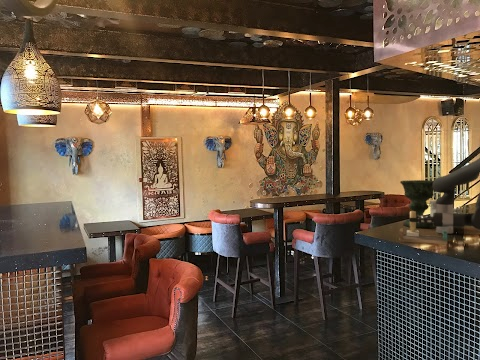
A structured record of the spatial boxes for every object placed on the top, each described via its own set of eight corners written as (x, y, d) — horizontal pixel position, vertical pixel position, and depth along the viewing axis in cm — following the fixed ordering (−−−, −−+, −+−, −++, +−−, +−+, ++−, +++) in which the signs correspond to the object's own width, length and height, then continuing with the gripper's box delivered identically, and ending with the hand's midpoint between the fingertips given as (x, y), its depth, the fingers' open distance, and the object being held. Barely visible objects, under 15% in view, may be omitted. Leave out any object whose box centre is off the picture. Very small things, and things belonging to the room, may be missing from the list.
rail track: (400, 238, 225) (400, 228, 225) (445, 240, 216) (445, 230, 216) (399, 241, 216) (399, 231, 216) (447, 244, 207) (447, 233, 206)
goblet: (424, 230, 248) (424, 182, 246) (393, 225, 267) (393, 181, 265) (444, 226, 259) (444, 180, 258) (413, 222, 279) (413, 179, 277)
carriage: (406, 233, 222) (406, 210, 222) (418, 234, 220) (418, 210, 219) (406, 235, 216) (406, 212, 215) (418, 236, 213) (418, 212, 213)
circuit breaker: (454, 222, 273) (455, 201, 273) (434, 223, 274) (434, 201, 273) (449, 221, 281) (449, 200, 280) (429, 221, 281) (429, 200, 280)
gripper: (442, 211, 218) (409, 210, 224) (443, 214, 205) (409, 213, 211) (442, 224, 218) (409, 223, 225) (443, 229, 205) (409, 227, 212)
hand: (409, 218), depth 218 cm, fingers open, 8 cm apart
